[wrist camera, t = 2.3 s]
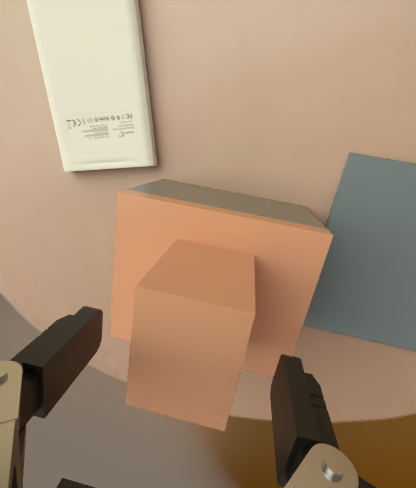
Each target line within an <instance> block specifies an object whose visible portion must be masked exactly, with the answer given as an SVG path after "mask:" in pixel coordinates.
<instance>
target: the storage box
mask: <svg viewBox="0 0 416 488" xmlns="http://www.w3.org/2000/svg"><path fill="white" fill-rule="evenodd" d="M127 190H132V191H137V192H142V193H147V194H152V195H157V196H162V197H167V198H172V199H178V200H183V201H188V202H193V203H198V204H203V205H208V206H213V207H218V208H223V209H228V210H233V211H238V212H243V213H248V214H253V215H258V216H263V217H268V218H273V219H278V220H283V221H289V222H294V223H299V224H304V225H309V226H314V227H319V228H324V229H327V228H326V227H325V226H324V225H323V224H322V223H321V222H320V221H319V220H318V219H317V218H316V217H315V216H314V215H313V214H312V213H311V212H310V211H309V210H308V209H307V208H306V207H305V206H300V205H294V204H289V203H284V202H279V201H273V200H268V199H263V198H258V197H253V196H247V195H242V194H237V193H232V192H227V191H221V190H216V189H211V188H206V187H201V186H195V185H190V184H185V183H180V182H175V181H169V180H164V179H161V180H158V181H155V182H151V183H148V184H144V185H141V186H137V187H134V188H130V189H127Z"/></svg>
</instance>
